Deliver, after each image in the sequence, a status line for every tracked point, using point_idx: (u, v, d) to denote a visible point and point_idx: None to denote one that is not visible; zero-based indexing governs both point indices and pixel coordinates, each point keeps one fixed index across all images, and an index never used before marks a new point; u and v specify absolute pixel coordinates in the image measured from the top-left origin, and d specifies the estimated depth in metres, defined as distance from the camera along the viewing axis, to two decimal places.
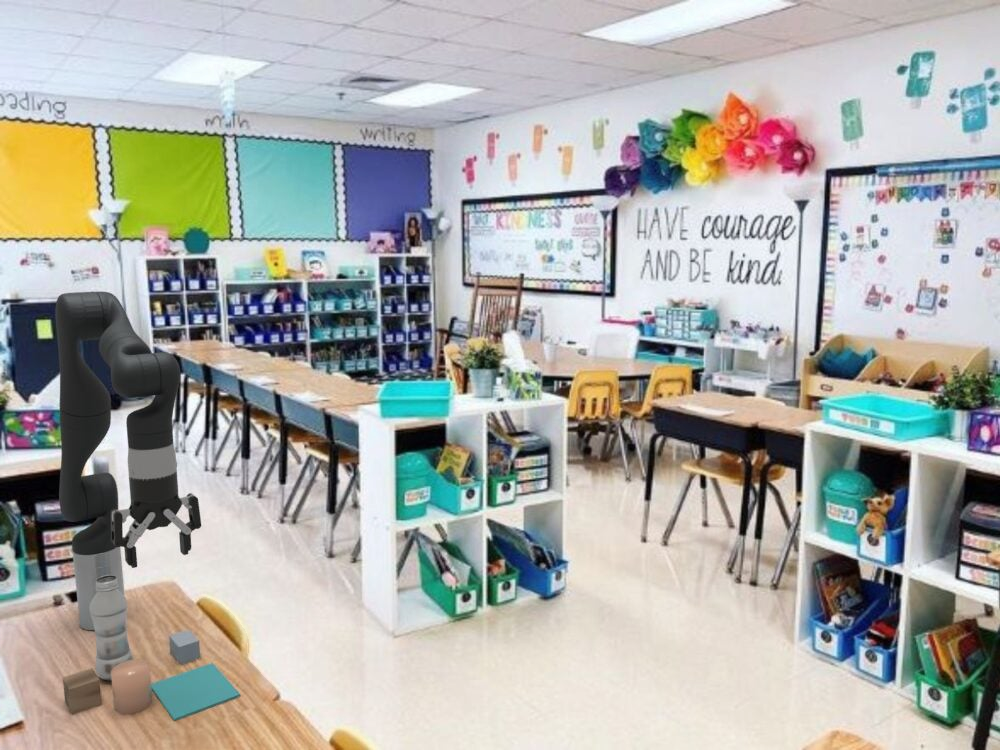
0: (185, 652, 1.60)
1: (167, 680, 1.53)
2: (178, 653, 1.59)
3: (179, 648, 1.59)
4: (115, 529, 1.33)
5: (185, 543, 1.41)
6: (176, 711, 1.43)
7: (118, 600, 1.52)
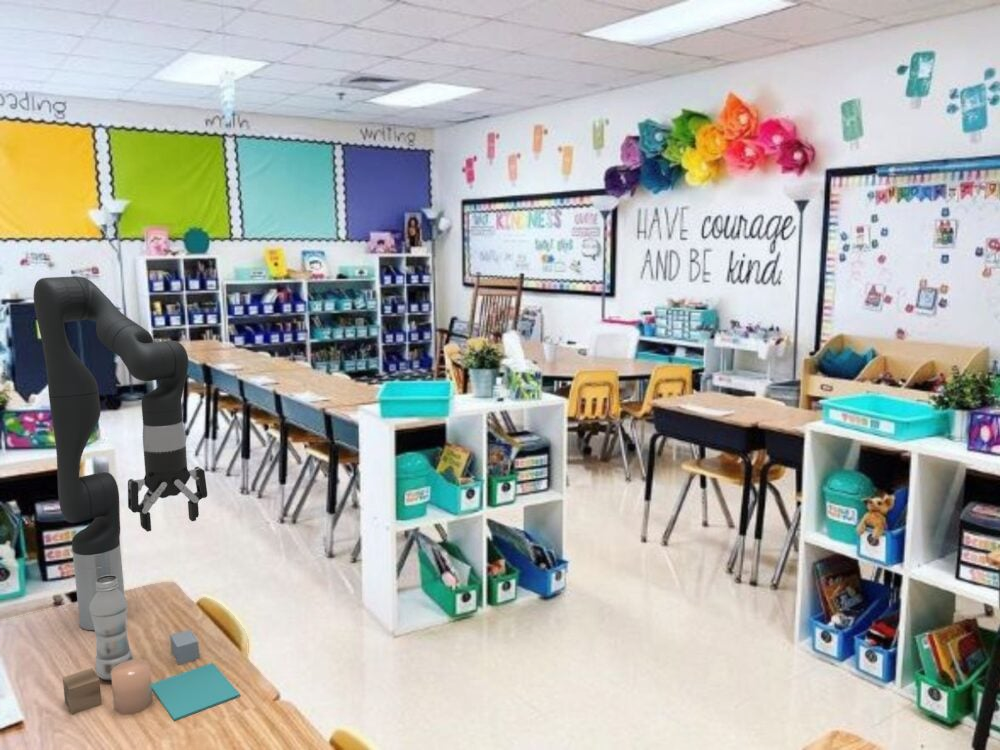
0: (184, 652, 1.60)
1: (167, 680, 1.53)
2: (177, 653, 1.59)
3: (177, 648, 1.59)
4: (132, 496, 1.51)
5: (193, 511, 1.59)
6: (176, 711, 1.43)
7: (118, 600, 1.52)
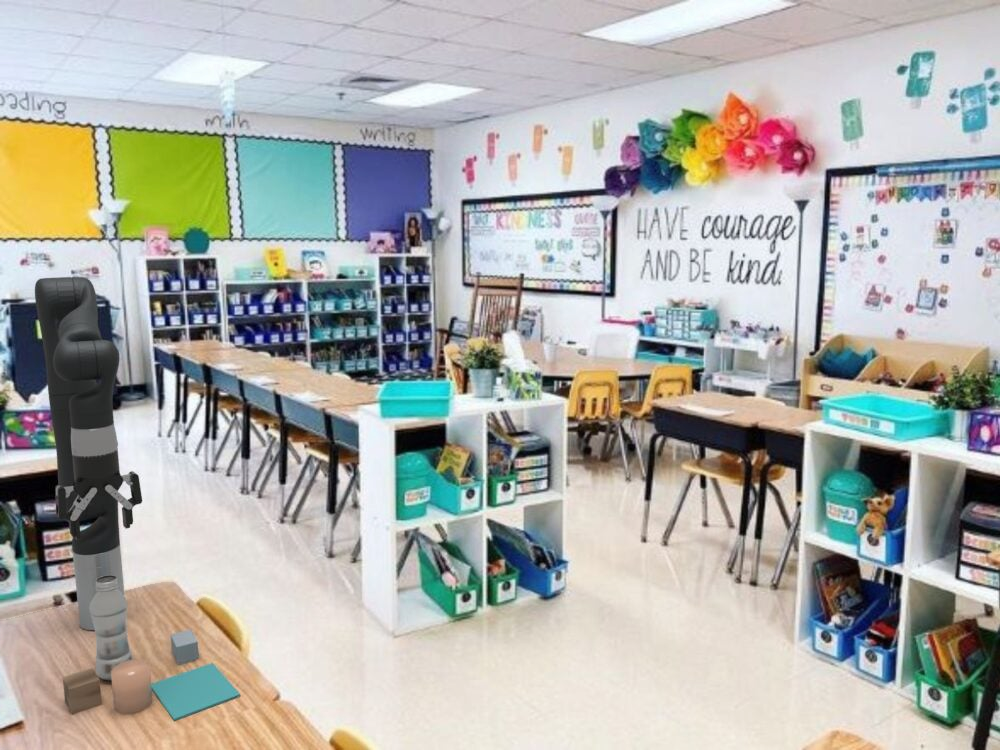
0: (183, 652, 1.60)
1: (167, 680, 1.53)
2: (176, 653, 1.59)
3: (177, 648, 1.59)
4: (59, 503, 1.44)
5: (127, 518, 1.52)
6: (176, 711, 1.43)
7: (118, 600, 1.52)
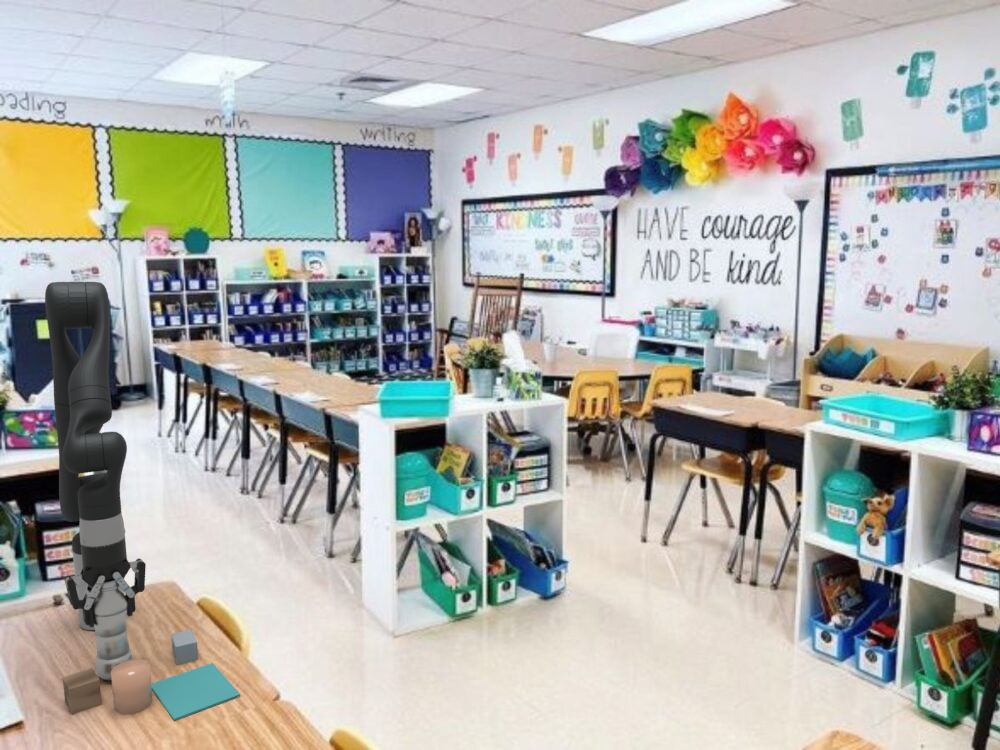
0: (182, 652, 1.60)
1: (167, 680, 1.53)
2: (175, 653, 1.60)
3: (176, 648, 1.59)
4: (70, 595, 1.47)
5: (129, 606, 1.54)
6: (176, 711, 1.43)
7: (119, 600, 1.52)
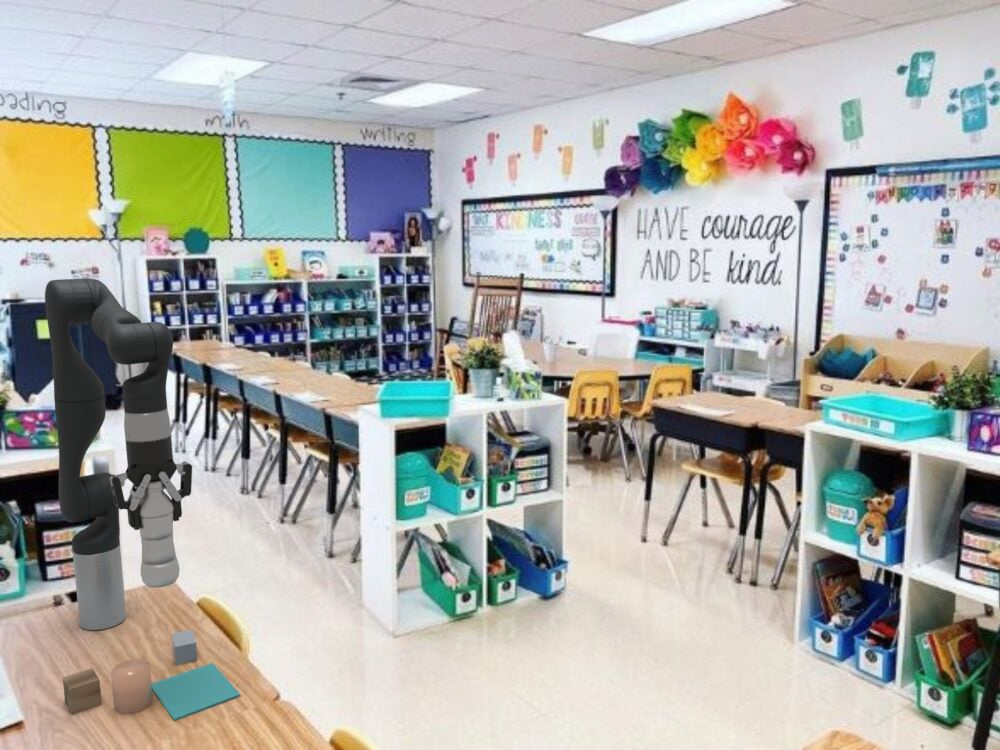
0: (181, 653, 1.60)
1: (167, 680, 1.53)
2: (175, 653, 1.60)
3: (175, 648, 1.59)
4: (115, 493, 1.40)
5: (175, 510, 1.47)
6: (176, 711, 1.43)
7: (165, 502, 1.44)
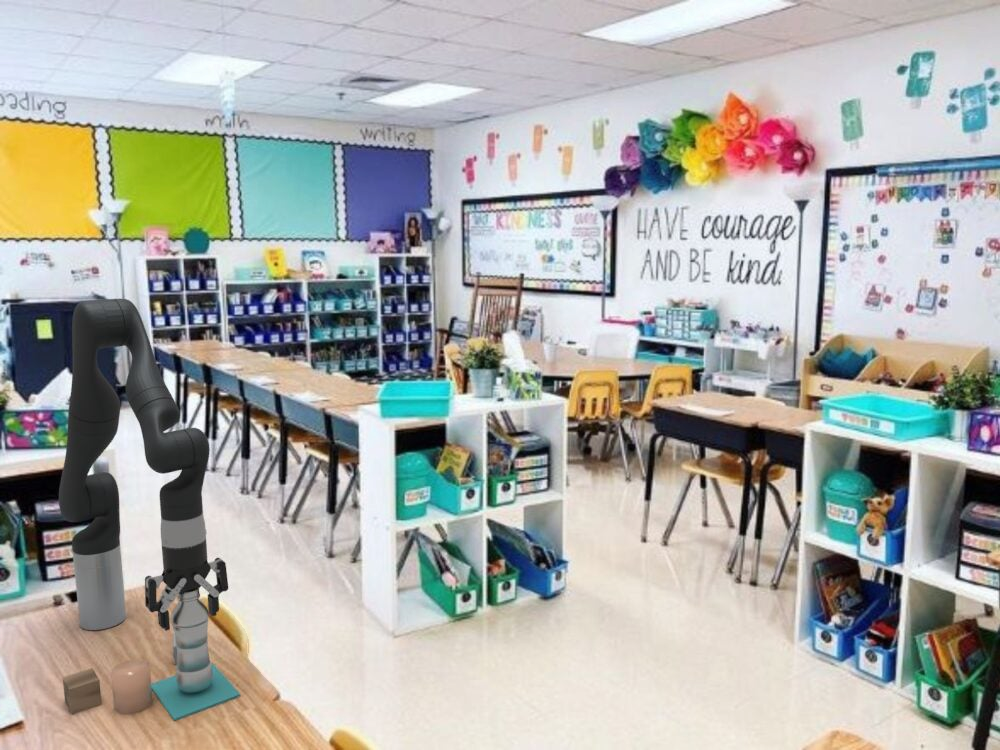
0: None
1: (167, 680, 1.53)
2: None
3: (174, 648, 1.59)
4: (149, 595, 1.41)
5: (213, 606, 1.49)
6: (176, 711, 1.43)
7: (200, 611, 1.47)
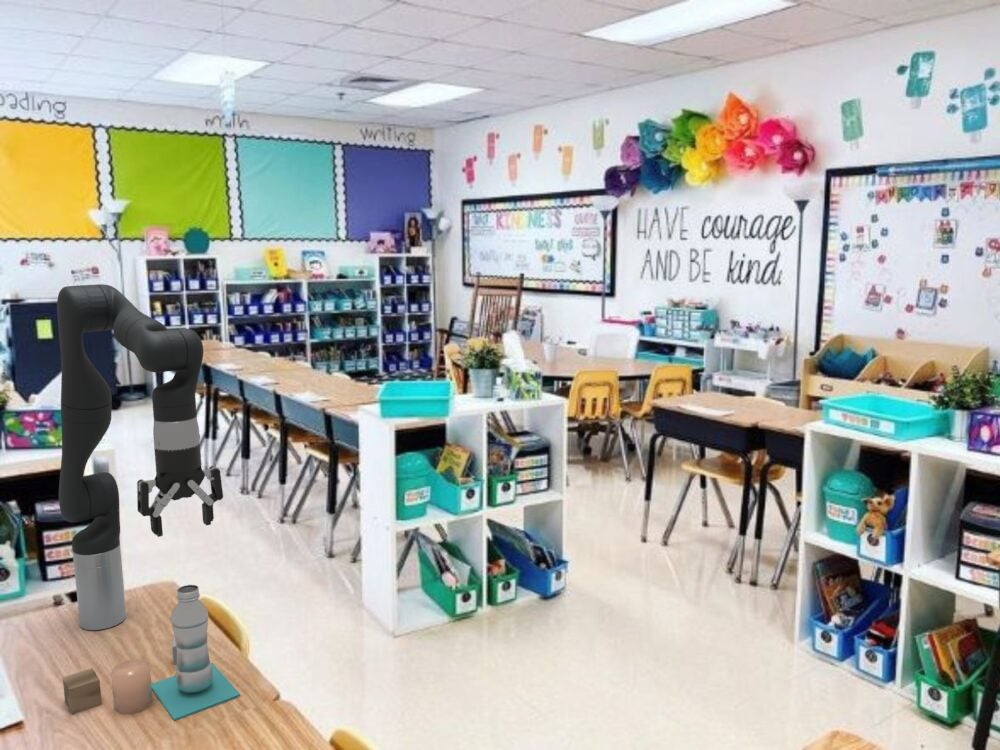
0: None
1: (167, 680, 1.53)
2: (173, 653, 1.60)
3: (173, 648, 1.59)
4: (142, 498, 1.38)
5: (208, 514, 1.46)
6: (176, 711, 1.43)
7: (200, 611, 1.47)
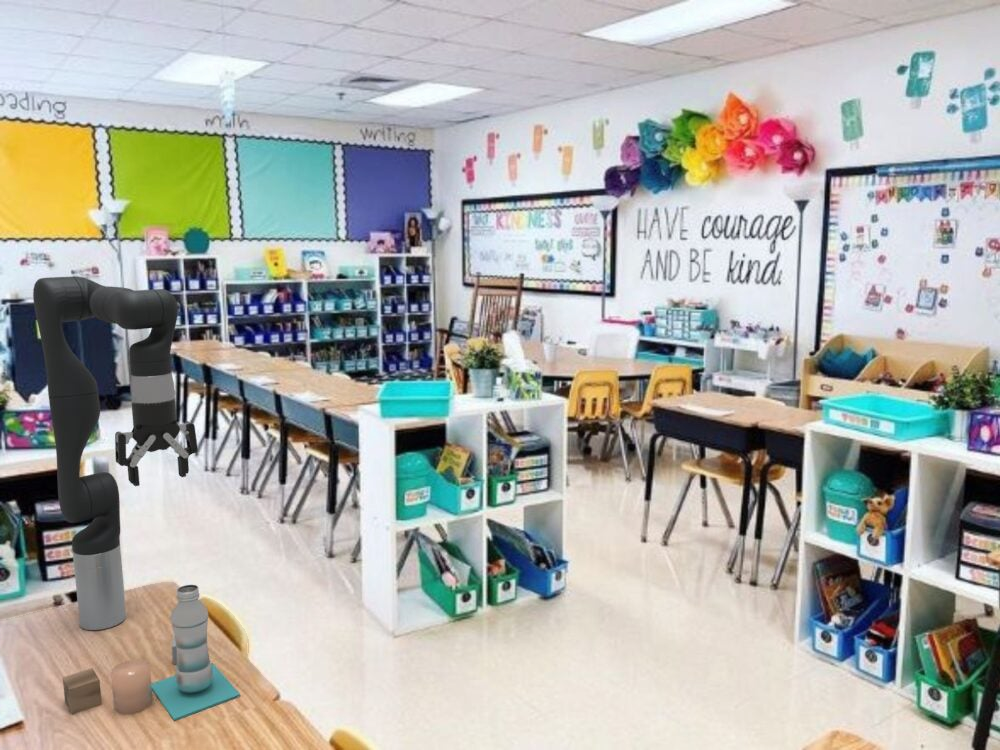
0: None
1: (167, 680, 1.53)
2: (172, 652, 1.60)
3: (172, 648, 1.59)
4: (119, 449, 1.46)
5: (183, 466, 1.54)
6: (176, 711, 1.43)
7: (200, 611, 1.47)
